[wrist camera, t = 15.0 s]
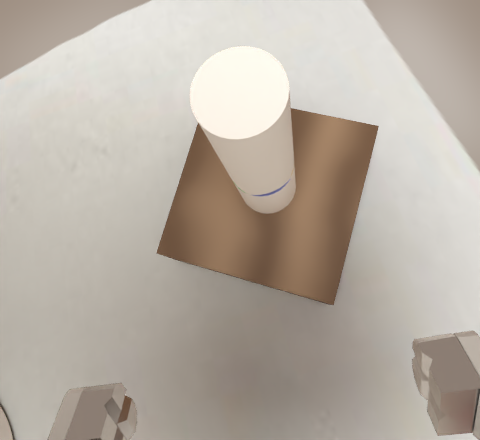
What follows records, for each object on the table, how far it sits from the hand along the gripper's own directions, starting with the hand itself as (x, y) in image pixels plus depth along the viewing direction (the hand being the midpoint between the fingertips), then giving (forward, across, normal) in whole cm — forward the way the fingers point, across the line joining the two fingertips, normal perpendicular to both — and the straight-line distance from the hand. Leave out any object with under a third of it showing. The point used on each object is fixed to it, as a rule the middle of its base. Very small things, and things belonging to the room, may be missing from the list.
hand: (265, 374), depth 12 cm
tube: (+21, 0, +6) cm, 22 cm away
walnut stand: (+24, 0, +10) cm, 26 cm away
